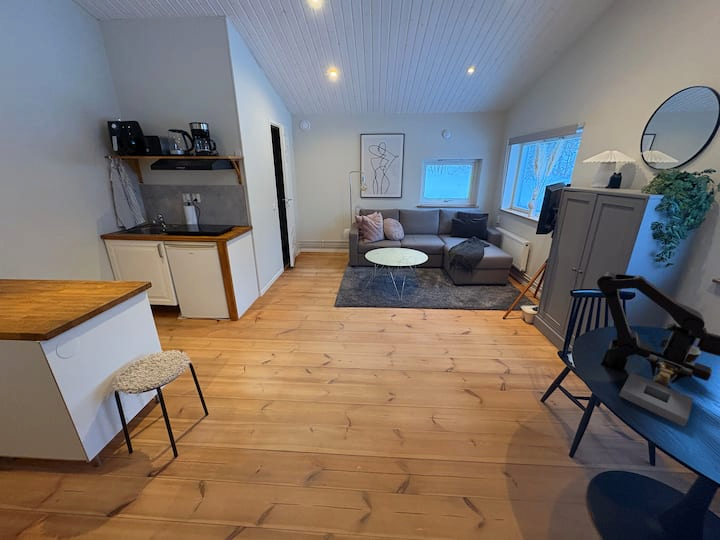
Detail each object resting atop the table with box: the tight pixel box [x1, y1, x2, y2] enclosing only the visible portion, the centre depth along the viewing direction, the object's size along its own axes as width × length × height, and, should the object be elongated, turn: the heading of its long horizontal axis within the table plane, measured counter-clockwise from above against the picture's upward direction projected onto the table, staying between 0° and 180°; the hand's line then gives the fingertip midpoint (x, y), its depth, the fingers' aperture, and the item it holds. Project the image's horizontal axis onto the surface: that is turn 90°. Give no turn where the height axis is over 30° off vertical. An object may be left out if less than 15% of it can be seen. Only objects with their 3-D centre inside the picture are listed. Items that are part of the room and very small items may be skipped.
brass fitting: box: [652, 361, 679, 387], centre depth 107 cm, size 5×5×7 cm
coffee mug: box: [662, 345, 702, 370], centre depth 114 cm, size 12×9×10 cm
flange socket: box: [618, 372, 694, 428], centre depth 100 cm, size 16×14×3 cm
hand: (662, 379), depth 108 cm, fingers closed on brass fitting, 5 cm apart
